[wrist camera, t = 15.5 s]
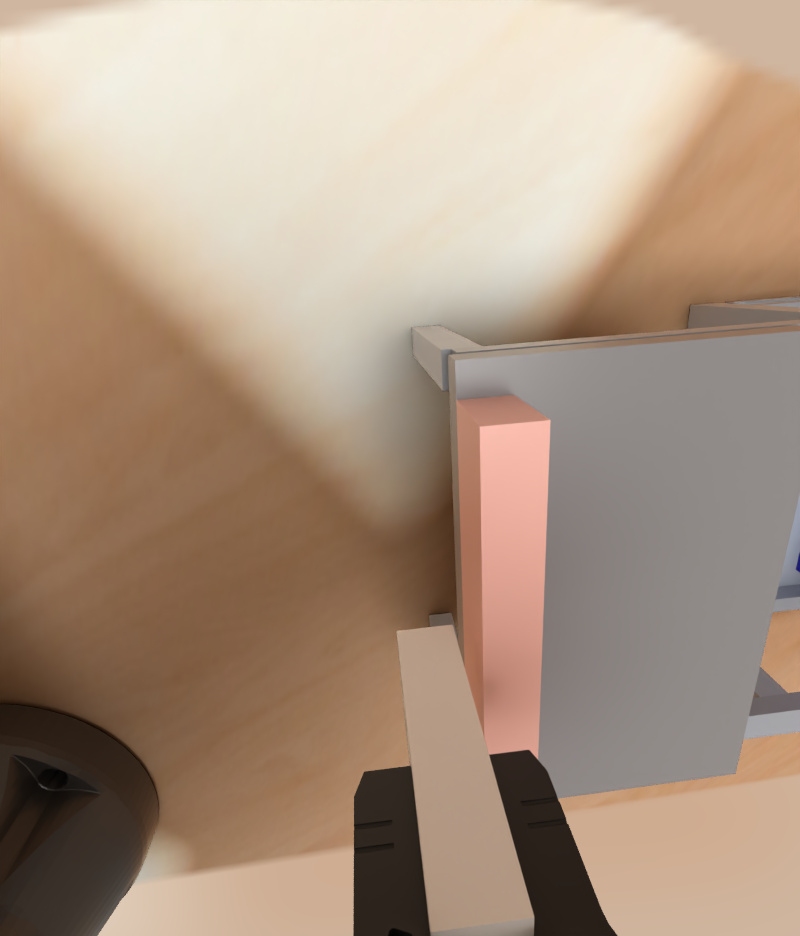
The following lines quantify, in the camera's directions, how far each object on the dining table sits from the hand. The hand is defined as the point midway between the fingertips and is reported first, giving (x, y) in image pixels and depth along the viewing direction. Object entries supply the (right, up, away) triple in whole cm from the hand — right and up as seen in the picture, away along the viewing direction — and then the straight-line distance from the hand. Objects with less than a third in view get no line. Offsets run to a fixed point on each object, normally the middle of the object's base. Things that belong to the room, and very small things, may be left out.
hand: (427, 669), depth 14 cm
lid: (+6, +1, +3) cm, 7 cm away
